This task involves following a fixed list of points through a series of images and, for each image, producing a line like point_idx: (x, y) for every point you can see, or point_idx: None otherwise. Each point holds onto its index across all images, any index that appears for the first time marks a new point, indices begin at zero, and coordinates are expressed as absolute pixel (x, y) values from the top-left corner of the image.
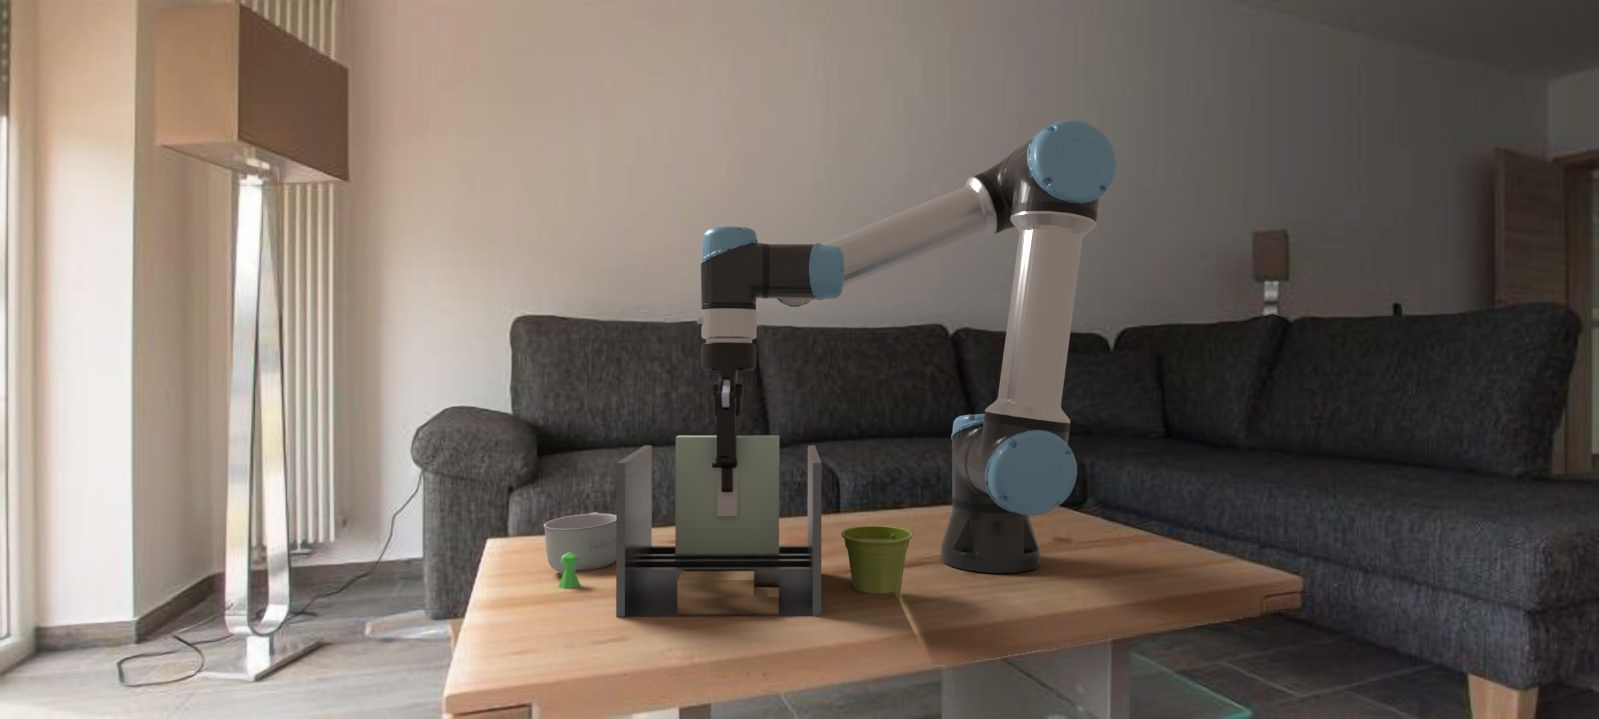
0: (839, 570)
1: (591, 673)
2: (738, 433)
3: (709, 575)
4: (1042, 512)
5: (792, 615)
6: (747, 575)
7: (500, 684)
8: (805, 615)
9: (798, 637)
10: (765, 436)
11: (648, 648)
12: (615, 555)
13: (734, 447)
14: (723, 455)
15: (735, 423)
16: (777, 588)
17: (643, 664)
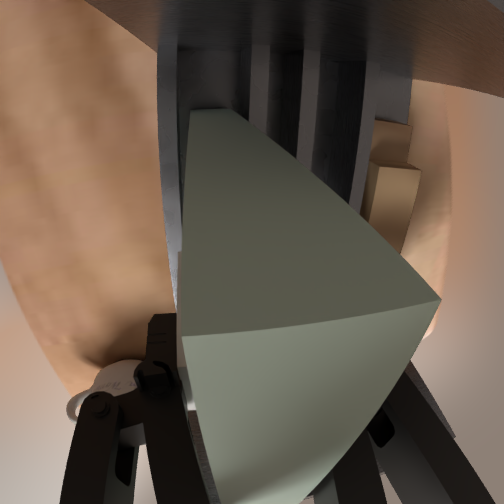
0: (68, 10)
1: (440, 279)
2: (105, 496)
3: (386, 235)
4: None
5: (407, 104)
6: (400, 179)
7: (432, 321)
8: (409, 87)
9: (422, 101)
10: (313, 420)
11: (412, 254)
12: (135, 367)
13: (428, 408)
14: (378, 411)
15: (458, 493)
16: (376, 122)
17: (440, 249)
